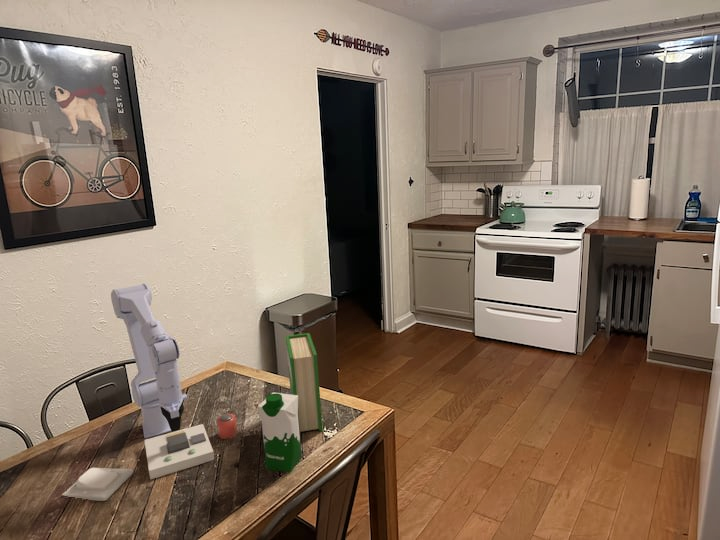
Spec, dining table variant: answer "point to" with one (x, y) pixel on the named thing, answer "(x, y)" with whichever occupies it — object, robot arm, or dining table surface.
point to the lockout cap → (227, 426)
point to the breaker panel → (178, 452)
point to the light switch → (98, 483)
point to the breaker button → (177, 442)
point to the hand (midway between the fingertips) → (175, 429)
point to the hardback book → (304, 380)
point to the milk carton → (280, 431)
